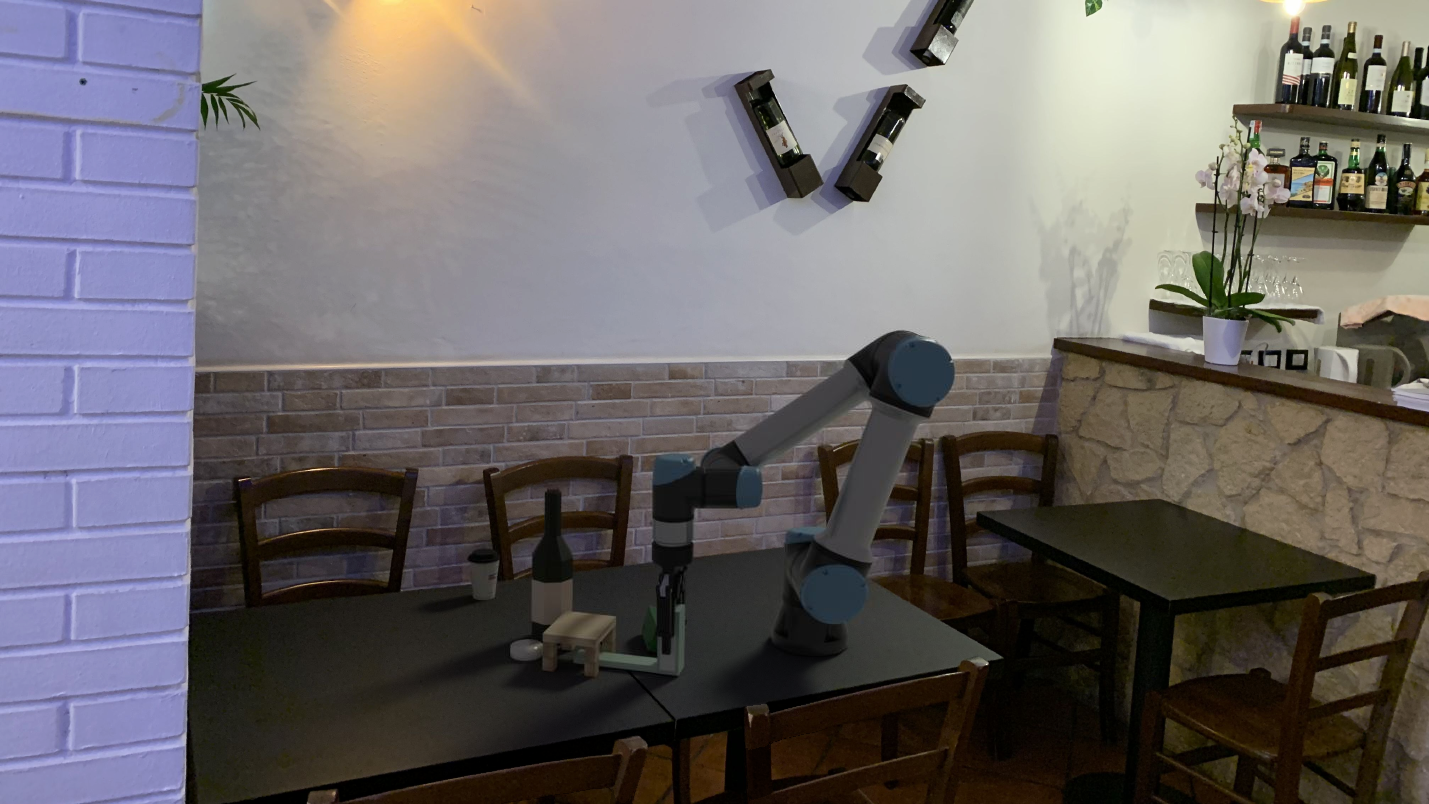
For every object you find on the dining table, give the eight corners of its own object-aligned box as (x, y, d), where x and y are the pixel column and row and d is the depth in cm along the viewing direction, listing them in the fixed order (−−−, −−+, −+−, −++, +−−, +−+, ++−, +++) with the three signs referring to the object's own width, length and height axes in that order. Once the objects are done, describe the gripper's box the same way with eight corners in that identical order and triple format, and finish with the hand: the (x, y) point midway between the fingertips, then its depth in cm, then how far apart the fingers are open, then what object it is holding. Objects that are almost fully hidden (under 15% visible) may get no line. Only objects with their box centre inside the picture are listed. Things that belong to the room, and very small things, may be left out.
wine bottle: (564, 648, 204) (566, 495, 199) (523, 643, 206) (524, 491, 201) (578, 632, 212) (581, 485, 208) (539, 627, 214) (540, 481, 209)
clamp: (672, 672, 206) (686, 638, 201) (642, 666, 204) (656, 632, 200) (670, 627, 216) (684, 595, 212) (641, 622, 215) (655, 589, 210)
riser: (615, 651, 203) (616, 616, 202) (595, 676, 192) (595, 639, 191) (565, 645, 205) (566, 610, 204) (542, 670, 194) (542, 633, 193)
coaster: (547, 651, 203) (547, 641, 203) (536, 663, 197) (536, 653, 197) (517, 648, 204) (517, 638, 204) (505, 660, 198) (505, 650, 198)
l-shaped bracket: (683, 667, 197) (685, 604, 195) (678, 675, 193) (679, 612, 191) (580, 655, 201) (580, 593, 199) (573, 663, 197) (573, 601, 195)
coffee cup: (462, 600, 228) (461, 555, 226) (474, 589, 235) (474, 545, 233) (493, 603, 227) (493, 557, 225) (505, 592, 233) (505, 548, 232)
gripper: (665, 526, 200) (663, 644, 204) (638, 552, 184) (637, 681, 188) (704, 529, 199) (701, 649, 202) (681, 556, 182) (678, 686, 186)
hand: (670, 664), depth 195 cm, fingers closed on l-shaped bracket, 4 cm apart
